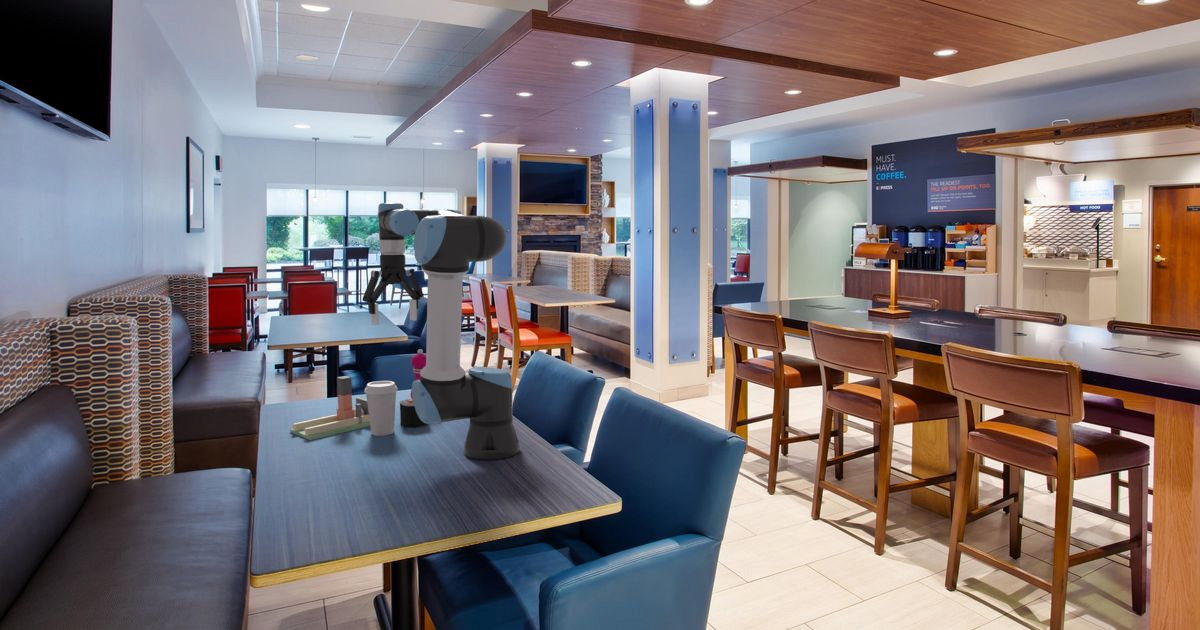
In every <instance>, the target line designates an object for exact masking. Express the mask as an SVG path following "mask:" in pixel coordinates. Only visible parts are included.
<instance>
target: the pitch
mask: <svg viewBox="0 0 1200 630" xmlns="http://www.w3.org/2000/svg"><path fill="white" fill-rule="evenodd" d="M355 408H356V417H353V418H349V419H344V420H340V421H337V413H336V414H333V415H326V416H323V417H318V418H314V419H309V420H305V421H300V422H295V423H292V428H290V429H289V430H290V433H291V434H294V435H296V436H299V437H301V438H304V439H306V440H309V441H314V440H318V439H322V438H325V437H330V436H334V435H339V434H342V433H347V432H352V431H356V430H359V429H365V428H368V427H370V419H369V412H368V404H367V398H363V397H355ZM361 408H362V409H363V410H364V415H361Z"/></svg>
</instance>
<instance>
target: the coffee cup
mask: <svg viewBox="0 0 1200 630" xmlns="http://www.w3.org/2000/svg"><path fill="white" fill-rule="evenodd" d="M398 391H399V388H398V387H397V385H396V383H395V381H392V380H376V381H371V382H368V383H367V384H366V387H365V388H364V391H363V392H364V394H365V395H366V399H367V404H368V412H369V419H370V426H369V427H370V433H371V435H372V436H375V437H383V436H390V435H392V434H394V432H395V417H396V401H397V400H396V399H397V392H398Z"/></svg>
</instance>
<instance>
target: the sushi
mask: <svg viewBox="0 0 1200 630" xmlns="http://www.w3.org/2000/svg"><path fill="white" fill-rule="evenodd" d="M399 412H400V413H399V415H400V421H399V422H400V426H402V427H404V428H408V429H410V428H419V427H424V426H428V425H429V424H426V423H424V422H422V421H421V419H420V418H419V416H418V414H417V412H416V409H415V406H414V403H413V399H412V398H411V397H410V398H409V399H408V398H407V399H406V398H405V399H404V400H401V401H399Z"/></svg>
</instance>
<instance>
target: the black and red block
mask: <svg viewBox="0 0 1200 630" xmlns="http://www.w3.org/2000/svg"><path fill="white" fill-rule="evenodd" d="M336 387H337V390H336V391H337V408H336V414H337V421H340V420H344V419H349V418H353V417H354V408H353V395H352V390H353V389H352V377H351V376H349V375H344V376H343V375H342V376H337V377H336Z"/></svg>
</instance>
